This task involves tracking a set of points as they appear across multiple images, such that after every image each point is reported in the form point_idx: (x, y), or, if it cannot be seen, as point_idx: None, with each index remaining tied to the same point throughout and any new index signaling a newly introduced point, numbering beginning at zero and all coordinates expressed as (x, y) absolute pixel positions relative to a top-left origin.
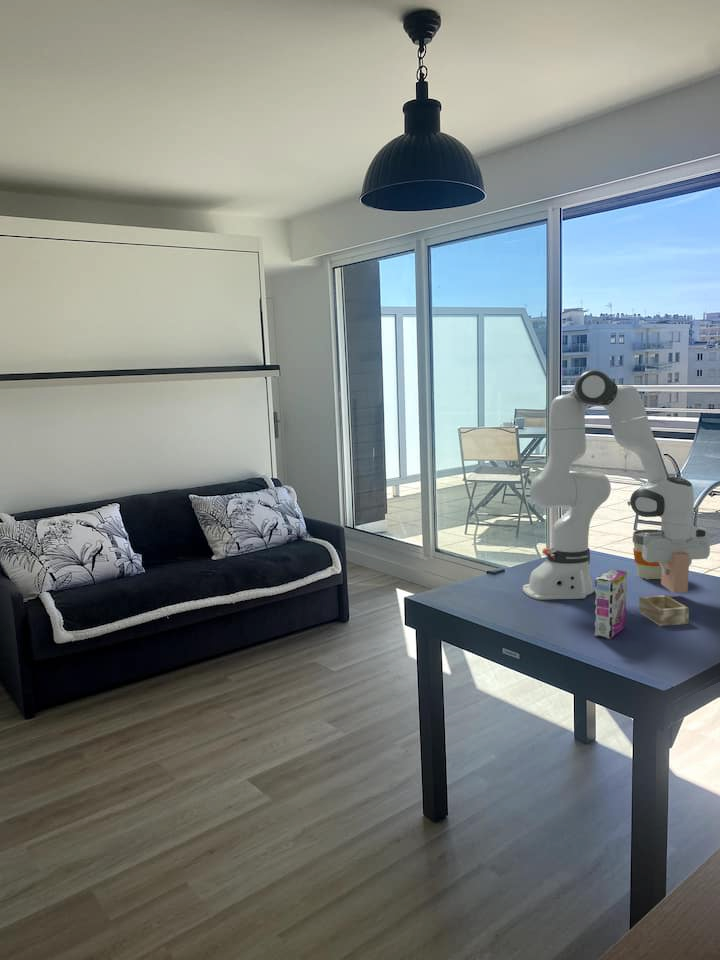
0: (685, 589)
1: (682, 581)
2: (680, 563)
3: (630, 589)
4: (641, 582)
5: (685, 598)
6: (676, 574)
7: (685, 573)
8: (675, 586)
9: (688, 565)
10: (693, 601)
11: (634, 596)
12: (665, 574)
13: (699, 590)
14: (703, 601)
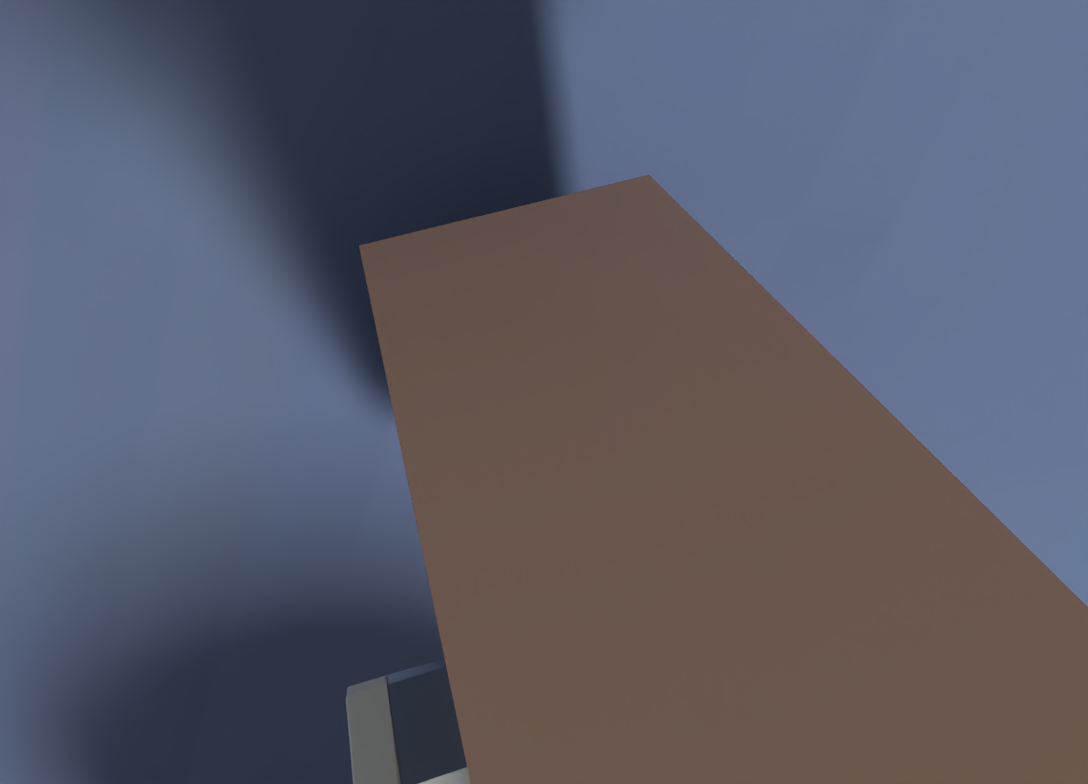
0: (412, 258)
1: (535, 329)
2: (891, 722)
3: None
4: None
5: (339, 301)
6: (794, 393)
7: (513, 484)
8: (666, 233)
9: (477, 744)
10: (234, 147)
11: (967, 342)
12: None
13: (51, 646)
14: (36, 149)
